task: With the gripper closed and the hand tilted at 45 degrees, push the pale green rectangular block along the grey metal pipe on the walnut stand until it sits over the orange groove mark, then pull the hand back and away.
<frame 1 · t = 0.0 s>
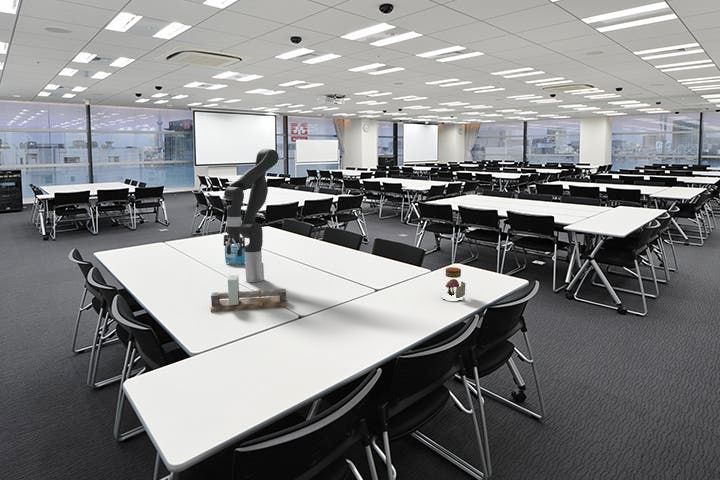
hand: (234, 255, 237), 17 cm above the table, tool pointing down, fingers open, 8 cm apart
pipe stand: (250, 305, 210), on the table
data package: (235, 264, 290), on the table
jar with lid: (452, 299, 219), on the table
pale green rectangular block: (233, 289, 208), point 8 cm above the table, slide at -7.0 cm
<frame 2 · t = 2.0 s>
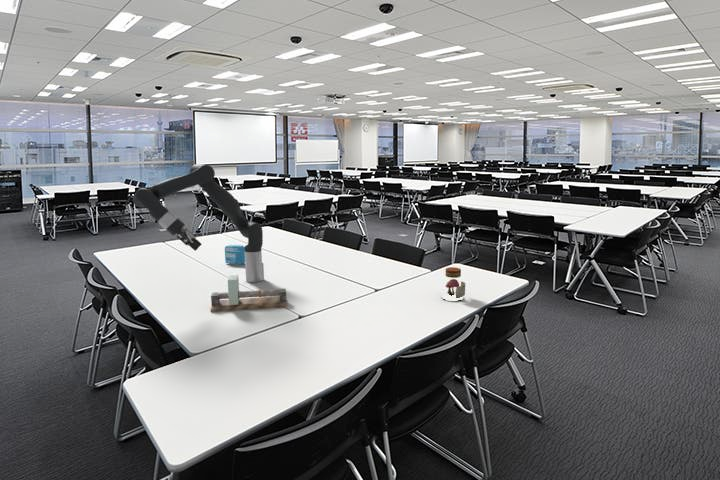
hand: (198, 247, 208), 27 cm above the table, tool tilted 45°, fingers open, 8 cm apart
nothing on the table moved.
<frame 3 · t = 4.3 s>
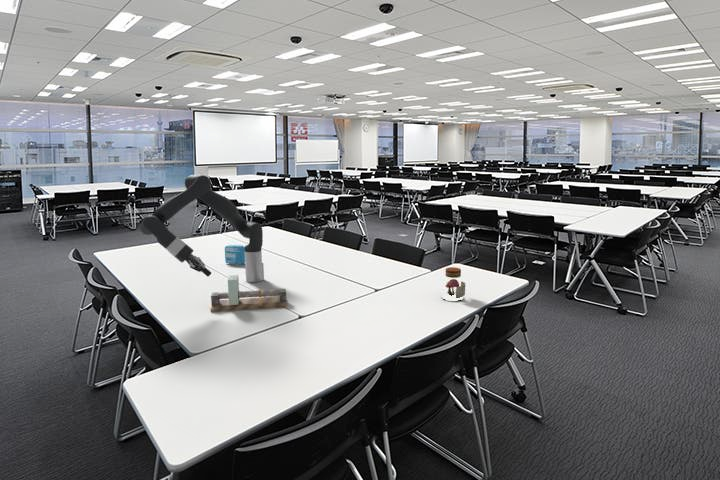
hand: (209, 274, 204), 16 cm above the table, tool tilted 45°, fingers closed
nothing on the table moved.
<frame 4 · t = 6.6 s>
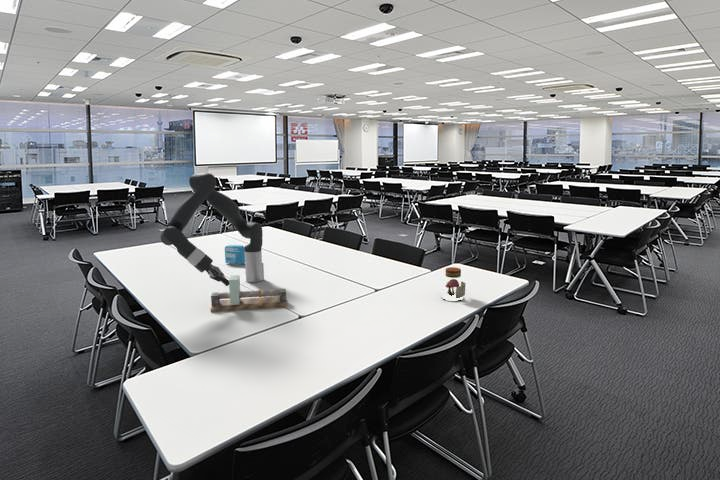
hand: (228, 284, 207), 11 cm above the table, tool tilted 45°, fingers closed
pale green rectangular block: (235, 289, 208), point 8 cm above the table, slide at -6.5 cm, touching gripper
everything else where it was.
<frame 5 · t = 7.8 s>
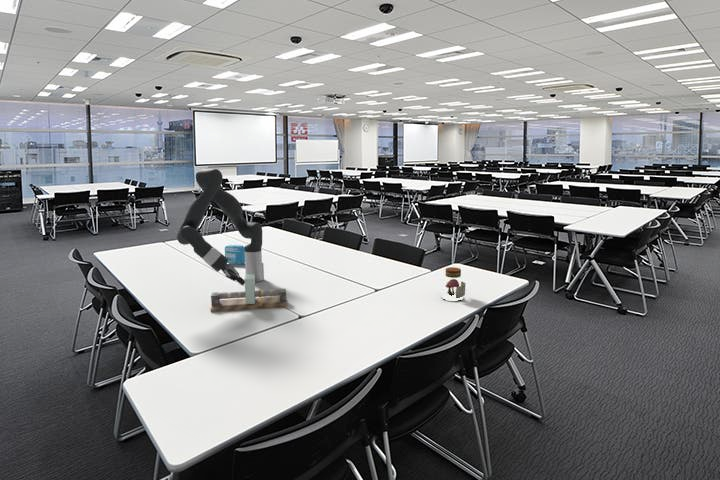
hand: (244, 283, 208), 11 cm above the table, tool tilted 45°, fingers closed
pale green rectangular block: (250, 289, 209), point 8 cm above the table, slide at 0.4 cm, touching gripper
everything else where it was.
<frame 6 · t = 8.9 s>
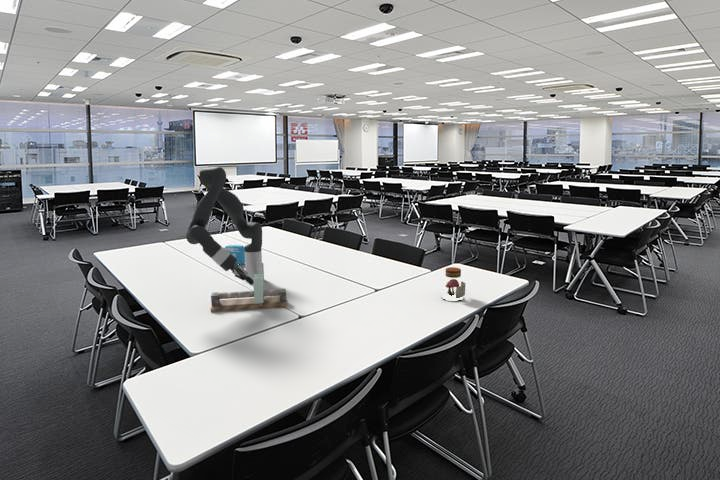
hand: (252, 283, 209), 11 cm above the table, tool tilted 45°, fingers closed
pale green rectangular block: (258, 288, 210), point 8 cm above the table, slide at 4.4 cm, touching gripper
everything else where it was.
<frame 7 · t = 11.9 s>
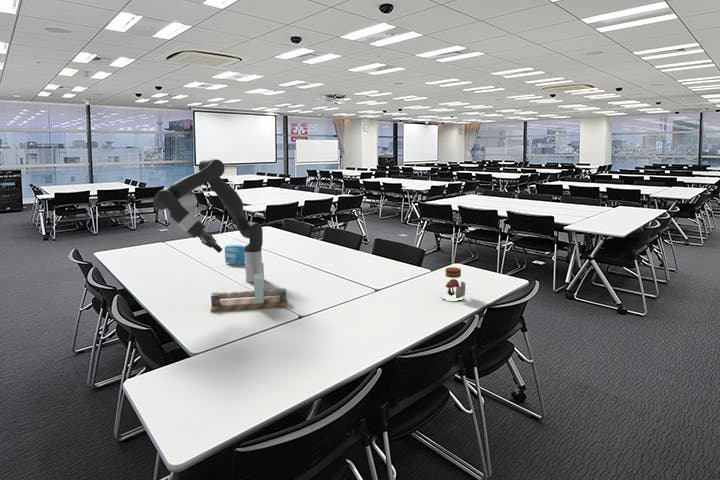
hand: (220, 251, 207), 26 cm above the table, tool tilted 45°, fingers closed
pale green rectangular block: (259, 288, 210), point 8 cm above the table, slide at 4.6 cm
everything else where it was.
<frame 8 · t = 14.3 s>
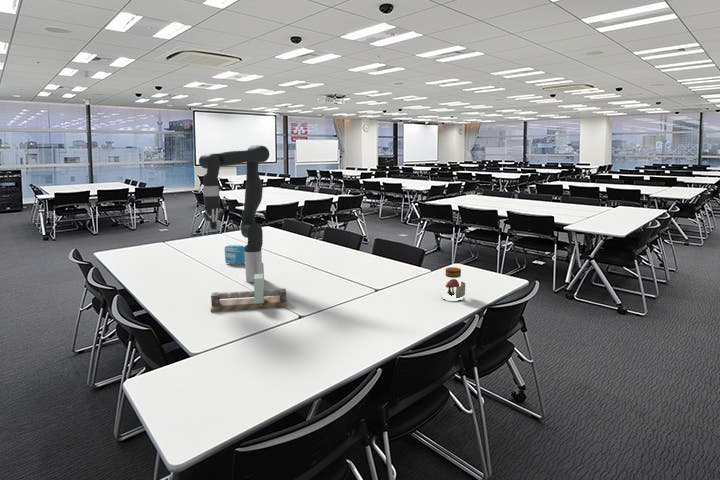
hand: (213, 229, 225), 33 cm above the table, tool pointing down, fingers closed
nothing on the table moved.
at the end: pale green rectangular block slide at 4.6 cm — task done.
